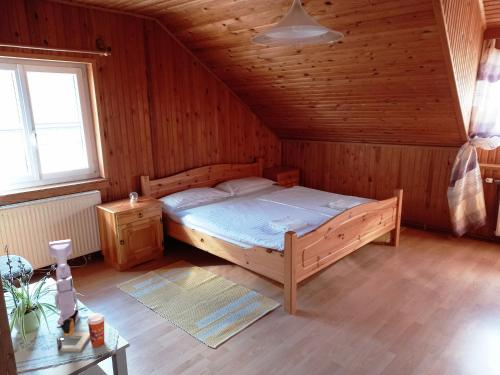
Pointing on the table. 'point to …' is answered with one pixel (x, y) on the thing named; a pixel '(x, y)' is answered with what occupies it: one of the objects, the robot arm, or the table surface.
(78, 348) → the beige u-shaped block
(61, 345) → the hook post
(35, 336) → the table surface
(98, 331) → the paper cup
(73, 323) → the orange rounded cylinder
